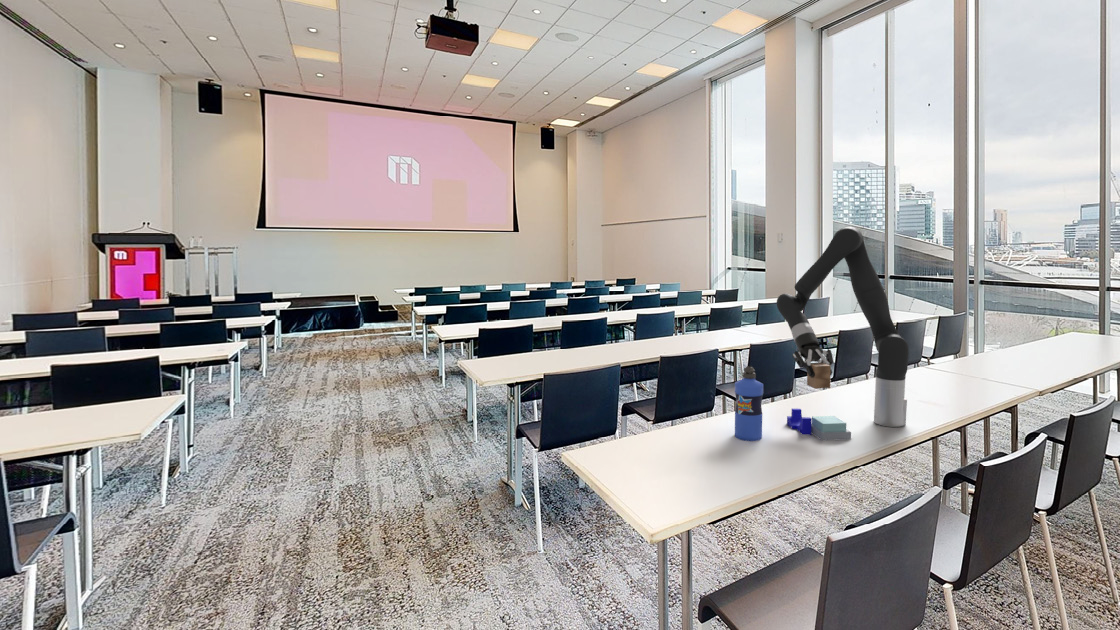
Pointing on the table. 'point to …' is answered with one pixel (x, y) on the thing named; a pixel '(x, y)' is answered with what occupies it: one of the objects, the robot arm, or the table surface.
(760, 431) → the water bottle
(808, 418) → the cable clip
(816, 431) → the slate base slab
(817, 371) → the walnut block
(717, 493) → the table surface
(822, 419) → the teal top slab
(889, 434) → the table surface
